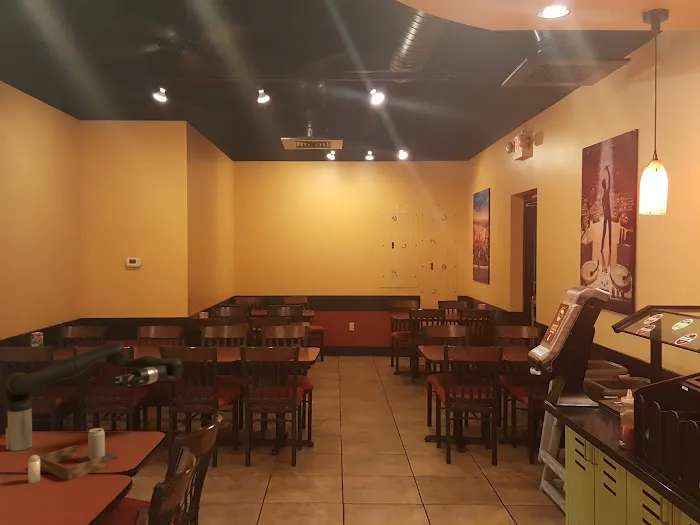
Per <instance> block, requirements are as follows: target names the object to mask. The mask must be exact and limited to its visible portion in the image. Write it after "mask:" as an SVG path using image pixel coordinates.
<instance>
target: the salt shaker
mask: <svg viewBox="0 0 700 525" xmlns="http://www.w3.org/2000/svg"><path fill="white" fill-rule="evenodd" d="M39 456H40V455H37V454H32V455H31V456H30V457H29V458H28V461H27V468H28V469H27V470H28V471H27V472H28V473H27V474H28V475H27V476H28V478H27V479H28V480H27V481H28V483H29V484H33V483H38V482H40V481H41V469H40V457H39Z"/></svg>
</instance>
